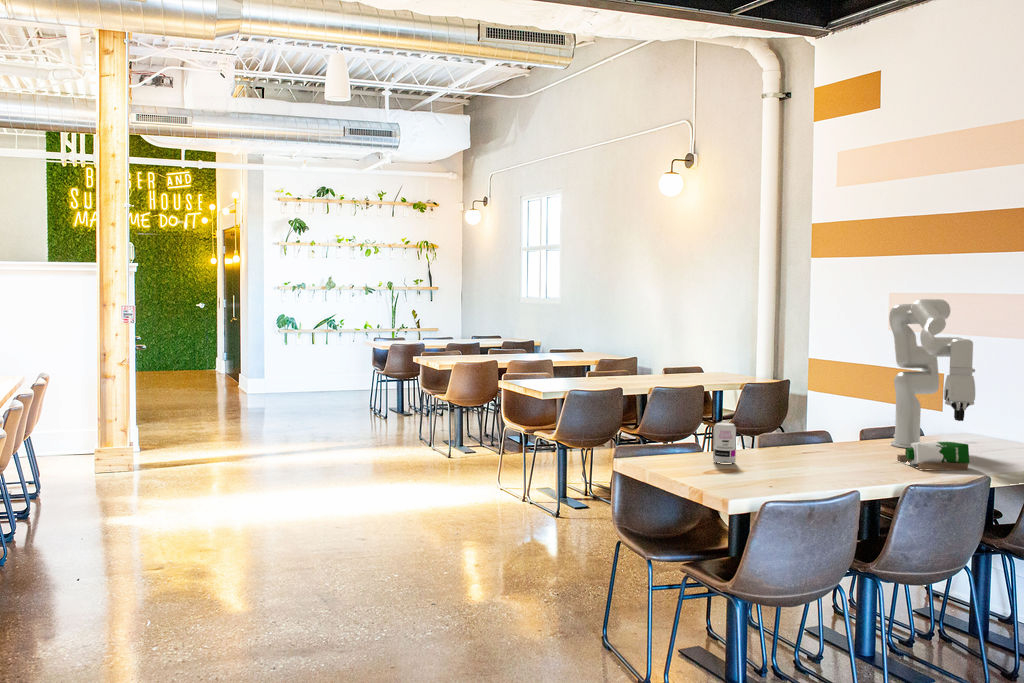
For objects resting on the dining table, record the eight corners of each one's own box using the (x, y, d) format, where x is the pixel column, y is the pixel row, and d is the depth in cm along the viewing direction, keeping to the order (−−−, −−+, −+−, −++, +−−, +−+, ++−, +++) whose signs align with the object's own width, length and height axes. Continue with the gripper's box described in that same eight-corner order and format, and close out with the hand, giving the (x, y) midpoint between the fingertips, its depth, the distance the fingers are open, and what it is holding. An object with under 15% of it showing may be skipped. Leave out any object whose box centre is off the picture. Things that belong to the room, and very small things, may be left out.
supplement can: (727, 460, 331) (728, 421, 330) (739, 464, 323) (740, 425, 322) (709, 461, 328) (709, 422, 327) (720, 465, 320) (721, 426, 319)
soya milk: (960, 441, 322) (904, 441, 325) (969, 441, 313) (911, 442, 316) (961, 464, 321) (905, 465, 324) (970, 465, 312) (913, 466, 315)
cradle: (897, 461, 329) (897, 454, 329) (942, 460, 330) (942, 454, 330) (920, 470, 313) (920, 463, 313) (967, 469, 314) (967, 463, 314)
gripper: (974, 370, 324) (972, 418, 325) (935, 371, 323) (934, 419, 324) (986, 372, 316) (984, 421, 318) (947, 373, 316) (945, 422, 317)
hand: (959, 420), depth 321 cm, fingers closed
